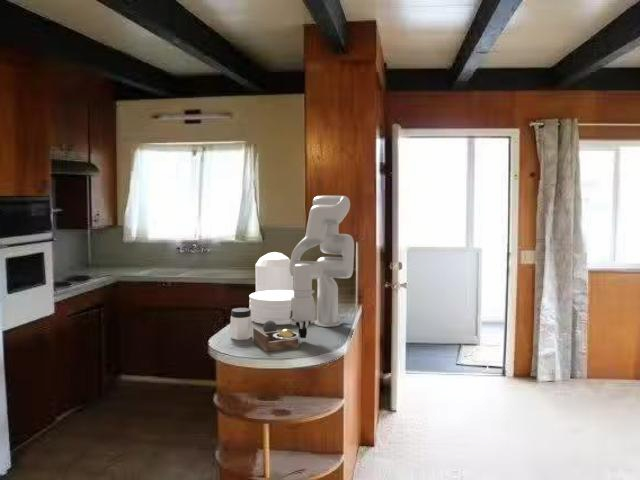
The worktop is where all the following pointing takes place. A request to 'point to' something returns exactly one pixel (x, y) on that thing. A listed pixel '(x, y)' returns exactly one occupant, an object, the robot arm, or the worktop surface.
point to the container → (273, 273)
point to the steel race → (277, 338)
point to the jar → (241, 323)
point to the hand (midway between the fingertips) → (302, 337)
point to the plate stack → (271, 306)
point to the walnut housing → (264, 339)
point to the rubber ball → (269, 326)
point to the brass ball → (286, 333)
